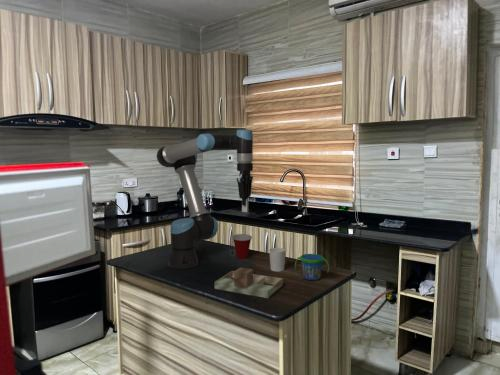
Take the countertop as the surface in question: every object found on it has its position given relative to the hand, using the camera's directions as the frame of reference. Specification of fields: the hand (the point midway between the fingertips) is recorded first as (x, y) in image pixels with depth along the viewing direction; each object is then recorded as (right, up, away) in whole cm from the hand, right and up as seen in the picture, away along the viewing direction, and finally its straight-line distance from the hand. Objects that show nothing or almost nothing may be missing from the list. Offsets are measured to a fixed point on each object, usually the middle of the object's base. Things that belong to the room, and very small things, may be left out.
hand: (245, 211), depth 182 cm
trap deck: (+2, -31, -18) cm, 36 cm away
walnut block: (0, -29, -23) cm, 37 cm away
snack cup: (+31, -30, -7) cm, 44 cm away
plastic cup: (-2, -27, +26) cm, 38 cm away
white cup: (+16, -29, +6) cm, 34 cm away
